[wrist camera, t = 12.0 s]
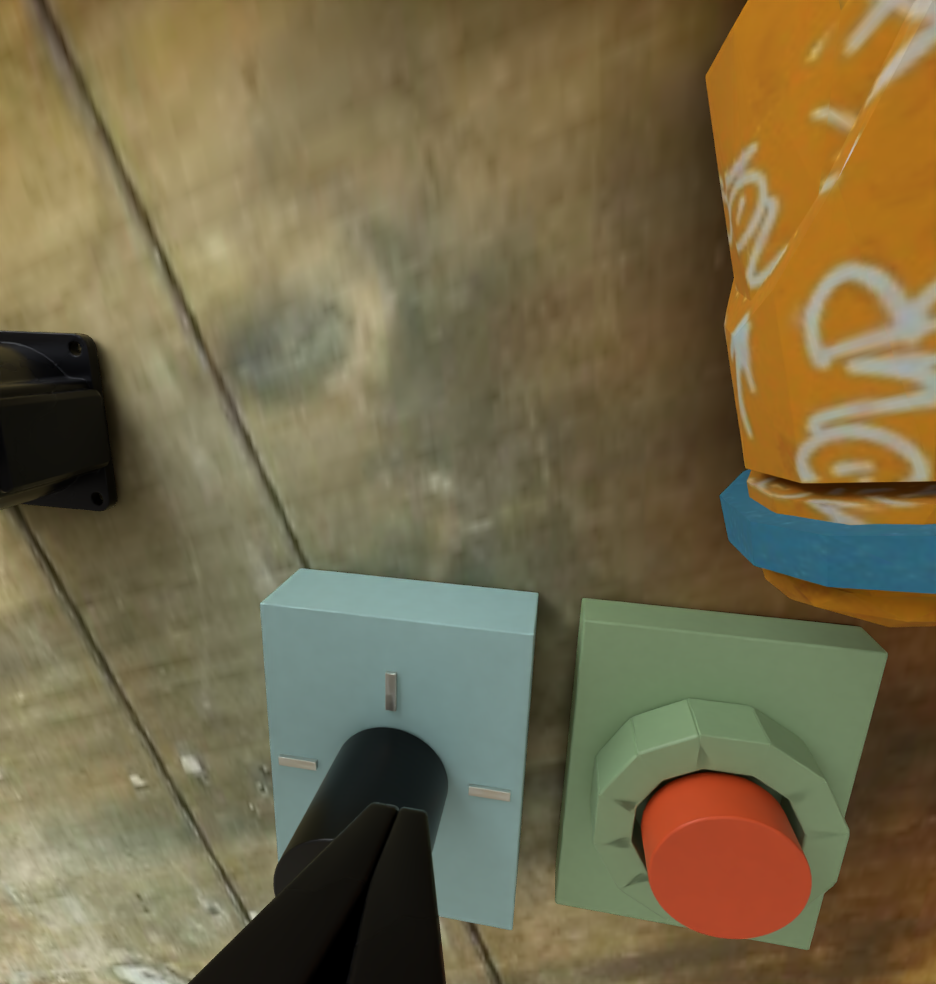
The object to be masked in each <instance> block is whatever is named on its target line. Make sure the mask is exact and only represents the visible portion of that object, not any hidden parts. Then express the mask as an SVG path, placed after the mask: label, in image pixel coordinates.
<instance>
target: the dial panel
mask: <svg viewBox="0 0 936 984" xmlns="http://www.w3.org/2000/svg"><path fill="white" fill-rule="evenodd" d="M538 598H539V594H538V593H535V592H525V591H516V590H506V589H496V588H487V587H477V586H467V585H458V584H448V583H439V582H429V581H419V580H410V579H400V578H390V577H381V576H371V575H361V574H352V573H342V572H333V571H323V570H313V569H304V568H300V569H299V570H298V571H297V572H295V573H294V574H293V575H292V576H291V577H290V578H288V579H287V580H286V581H285V582H284V583H283V584H282V585H280V586H279V587H278V588H277V589H276V590H275V591H274V592H272V593H271V594H270V595H269V596H268V597H267V598H266V599H264V600H263V601H262V602H261V603H260V611H261V625H262V639H263V654H264V668H265V682H266V696H267V710H268V724H269V738H270V752H271V766H272V780H273V794H274V808H275V822H276V837H277V851H278V862H279V860H280V858H281V857H282V855H283V853H284V851H285V849H286V847H287V846H288V844H289V842H290V840H291V838H292V836H293V835H294V833H295V831H296V829H297V827H298V825H299V824H300V822H301V820H302V818H303V816H304V814H305V813H306V811H307V809H308V807H309V805H310V803H311V802H312V800H313V798H314V796H315V794H316V792H317V791H318V789H319V787H320V785H321V783H322V781H323V780H324V778H325V776H326V774H327V772H328V770H329V769H330V767H331V765H332V763H333V761H334V759H335V758H336V756H337V754H338V752H339V750H340V749H341V747H342V745H343V744H344V743H345V742H346V741H347V740H348V739H349V738H350V737H351V736H353V735H355V734H356V733H358V732H361V731H363V730H366V729H370V728H376V727H388V728H395V729H399V730H402V731H405V732H408V733H410V734H412V735H415V736H416V737H418V738H420V739H421V740H422V741H424V742H425V743H426V744H428V745H429V746H430V747H431V748H432V749H433V750H434V751H435V753H436V754H437V755H438V757H439V758H440V760H441V761H442V763H443V765H444V768H445V771H446V774H447V779H448V793H447V797H446V801H445V805H444V809H443V813H442V817H441V821H440V824H439V828H438V832H437V836H436V840H435V844H434V848H433V852H432V859H433V869H434V878H435V887H436V896H437V905H438V915H439V916H440V917H445V918H451V919H456V920H461V921H466V922H471V923H476V924H482V925H487V926H492V927H497V928H502V929H507V930H512V929H513V918H514V907H515V895H516V884H517V873H518V861H519V849H520V835H521V822H522V809H523V796H524V783H525V770H526V756H527V743H528V730H529V717H530V704H531V690H532V677H533V664H534V651H535V638H536V625H537V611H538Z"/></svg>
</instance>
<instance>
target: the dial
mask: <svg viewBox="0 0 936 984" xmlns="http://www.w3.org/2000/svg"><path fill="white" fill-rule="evenodd" d="M447 793H448V779H447V774H446V771H445V768H444V765H443V763H442V761H441V760H440V758H439V757H438V755H437V754H436V753H435V751H434V750H433V749H432V748H431V747H430V746H429V745H428V744H426V743H425V742H424V741H422V740H421V739H420V738H418V737H416V736H415V735H412V734H410V733H408V732H405V731H402V730H399V729H395V728H388V727H376V728H370V729H366V730H363V731H361V732H358V733H356V734H355V735H353V736H351V737H350V738H349V739H348V740H347V741H346V742H345V743H344V744H343V745H342V747H341V749H340V750H339V752H338V754H337V756H336V758H335V759H334V761H333V763H332V765H331V767H330V769H329V770H328V772H327V774H326V776H325V778H324V780H323V781H322V783H321V785H320V787H319V789H318V791H317V792H316V794H315V796H314V798H313V800H312V802H311V803H310V805H309V807H308V809H307V811H306V813H305V814H304V816H303V818H302V820H301V822H300V824H299V825H298V827H297V829H296V831H295V833H294V835H293V836H292V838H291V840H290V842H289V844H288V846H287V847H286V849H285V851H284V853H283V855H282V857H281V858H280V860H279V862H278V864H277V867H276V869H275V874H274V893H275V897H276V896H277V895H278V894H279V893H280V892H281V891H282V890H283V889H284V888H285V887H286V886H287V885H288V884H289V883H290V882H291V881H292V880H293V879H294V878H295V877H296V876H297V875H298V874H299V873H300V872H301V871H302V870H303V869H304V868H305V867H306V866H307V865H308V864H310V863H311V862H312V861H313V860H314V859H315V858H316V857H317V856H318V855H319V854H320V853H321V852H322V851H323V850H324V849H325V848H326V847H327V846H328V845H329V844H330V843H331V842H332V841H333V840H334V839H335V838H336V837H337V836H338V835H339V834H340V833H341V832H342V831H343V830H344V829H345V828H346V827H347V826H348V825H349V824H350V823H351V822H352V821H353V820H354V819H355V818H356V817H357V816H358V815H359V814H360V813H361V812H362V811H363V810H364V809H365V808H366V807H367V806H368V805H369V804H371V803H373V802H378V803H384V804H390V805H395V806H397V807H398V808H399V810H400V808H402V807H408V808H414V809H420V810H425V811H426V812H427V815H428V822H429V832H430V841H431V850H432V852H433V848H434V844H435V840H436V836H437V832H438V828H439V824H440V821H441V817H442V813H443V809H444V805H445V801H446V797H447Z"/></svg>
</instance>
